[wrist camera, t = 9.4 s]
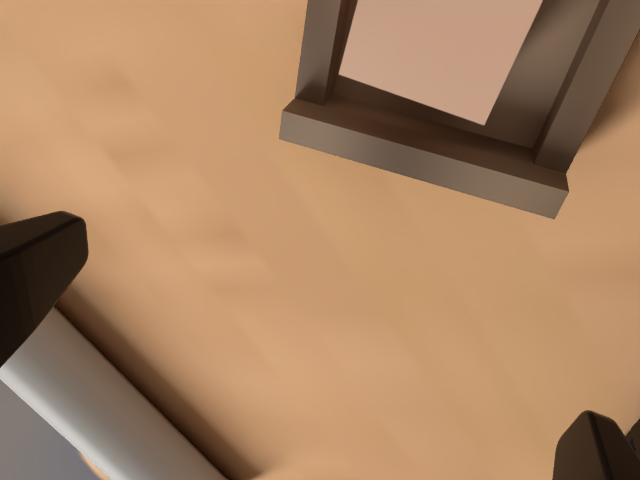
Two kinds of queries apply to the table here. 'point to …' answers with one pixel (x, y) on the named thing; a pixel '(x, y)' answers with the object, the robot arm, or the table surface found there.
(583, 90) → the wooden tray
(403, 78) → the beige long block
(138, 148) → the table surface
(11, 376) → the tube
